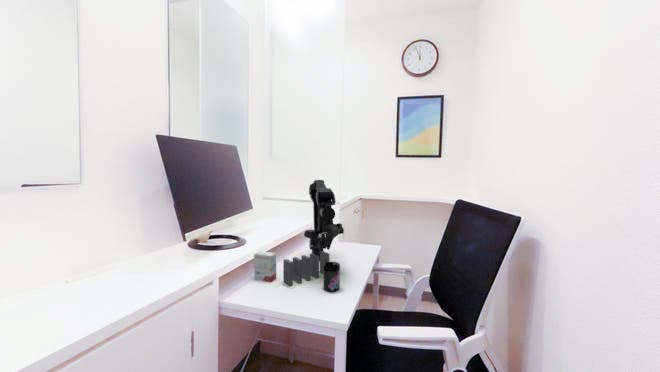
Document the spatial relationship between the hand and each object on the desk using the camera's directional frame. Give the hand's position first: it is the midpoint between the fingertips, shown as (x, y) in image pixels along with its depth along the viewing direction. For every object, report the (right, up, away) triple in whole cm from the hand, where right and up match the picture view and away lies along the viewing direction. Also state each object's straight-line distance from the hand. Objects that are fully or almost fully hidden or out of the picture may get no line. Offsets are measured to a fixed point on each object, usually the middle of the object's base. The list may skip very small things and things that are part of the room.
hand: (324, 250), depth 131 cm
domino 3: (-8, -11, -5) cm, 15 cm away
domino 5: (0, -11, +1) cm, 11 cm away
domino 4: (-4, -11, -2) cm, 12 cm away
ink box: (-26, -12, -5) cm, 29 cm away
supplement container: (+3, -13, -15) cm, 20 cm away
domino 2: (-11, -12, -8) cm, 18 cm away
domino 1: (-15, -12, -11) cm, 22 cm away
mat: (-6, -12, -4) cm, 14 cm away
